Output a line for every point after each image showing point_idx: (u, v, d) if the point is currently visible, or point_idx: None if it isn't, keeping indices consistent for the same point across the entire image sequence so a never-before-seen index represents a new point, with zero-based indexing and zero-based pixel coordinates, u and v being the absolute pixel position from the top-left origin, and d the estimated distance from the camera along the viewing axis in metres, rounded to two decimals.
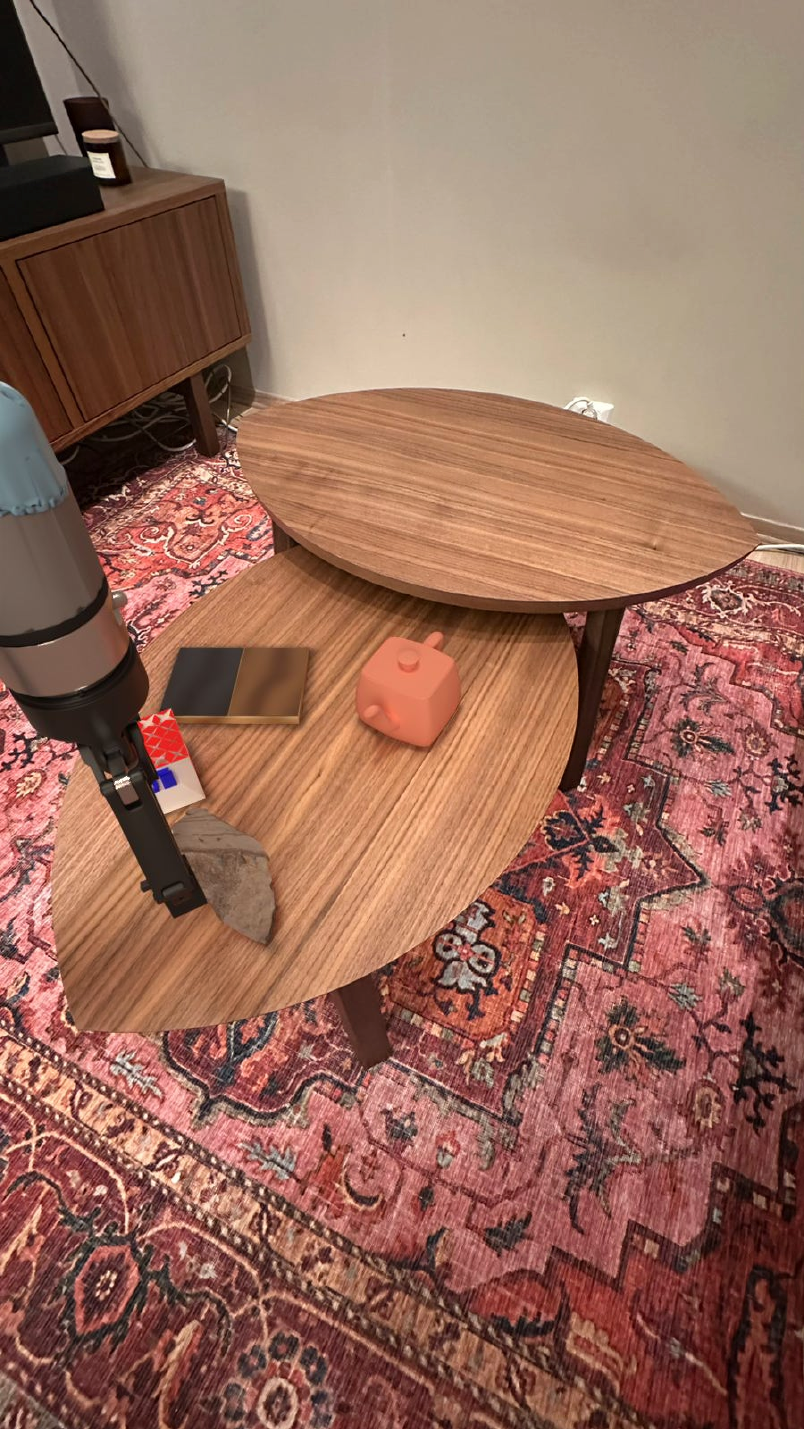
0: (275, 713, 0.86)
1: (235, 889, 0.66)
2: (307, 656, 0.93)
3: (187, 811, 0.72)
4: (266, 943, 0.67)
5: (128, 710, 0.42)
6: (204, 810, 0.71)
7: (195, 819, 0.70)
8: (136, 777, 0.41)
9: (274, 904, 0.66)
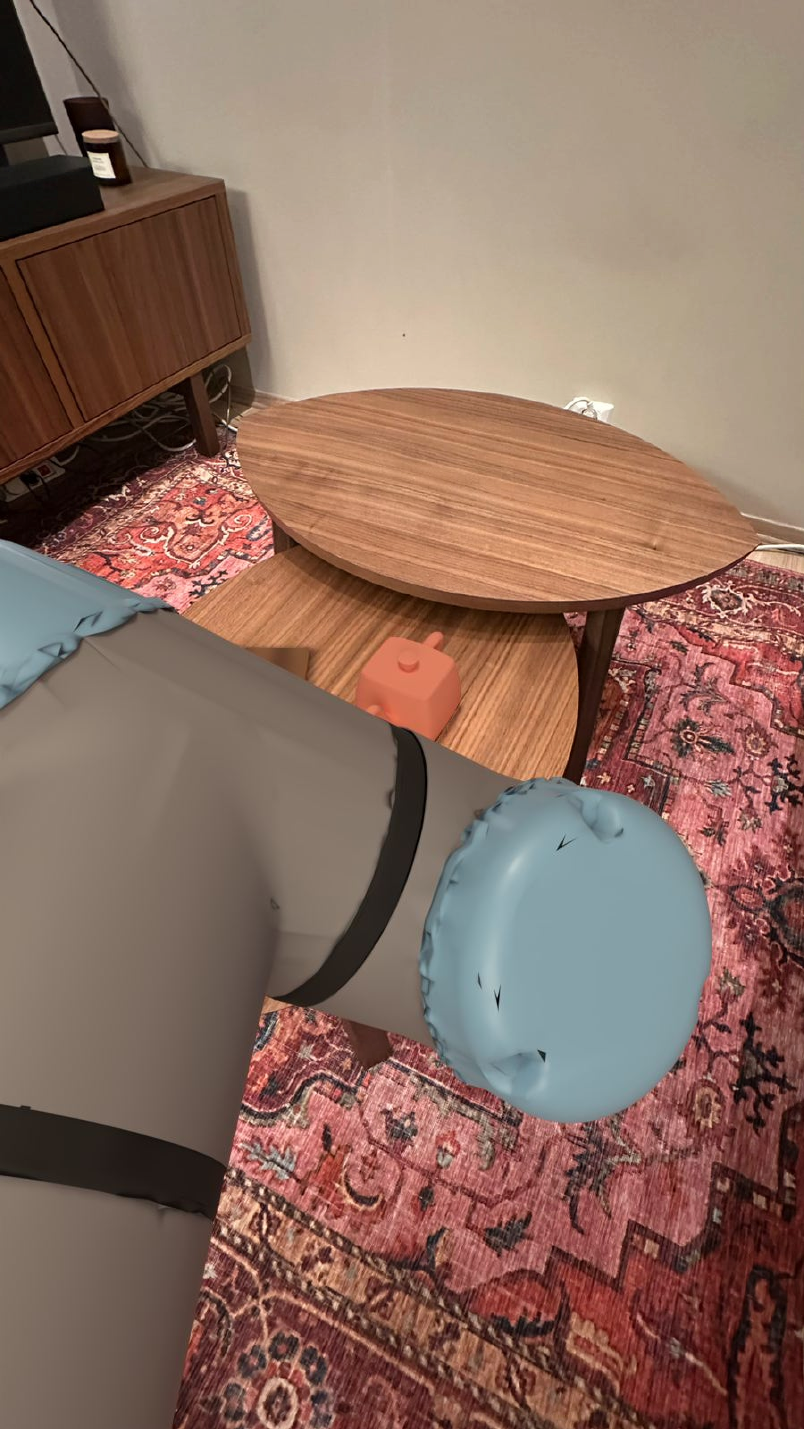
0: None
1: None
2: (307, 656, 0.93)
3: None
4: None
5: None
6: None
7: None
8: None
9: None
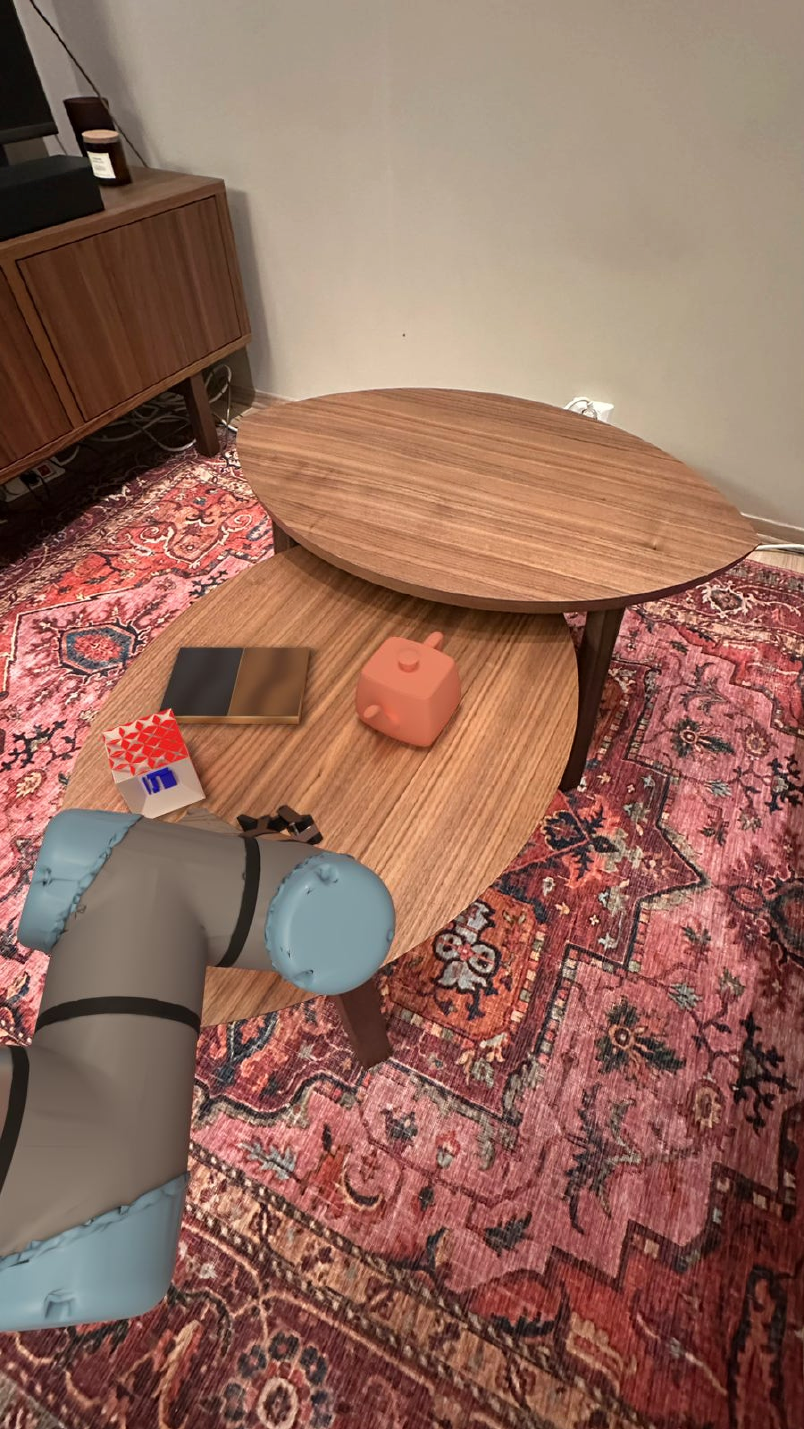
0: (275, 713, 0.86)
1: None
2: (307, 656, 0.93)
3: (188, 810, 0.72)
4: None
5: None
6: (205, 809, 0.71)
7: (196, 818, 0.70)
8: None
9: None
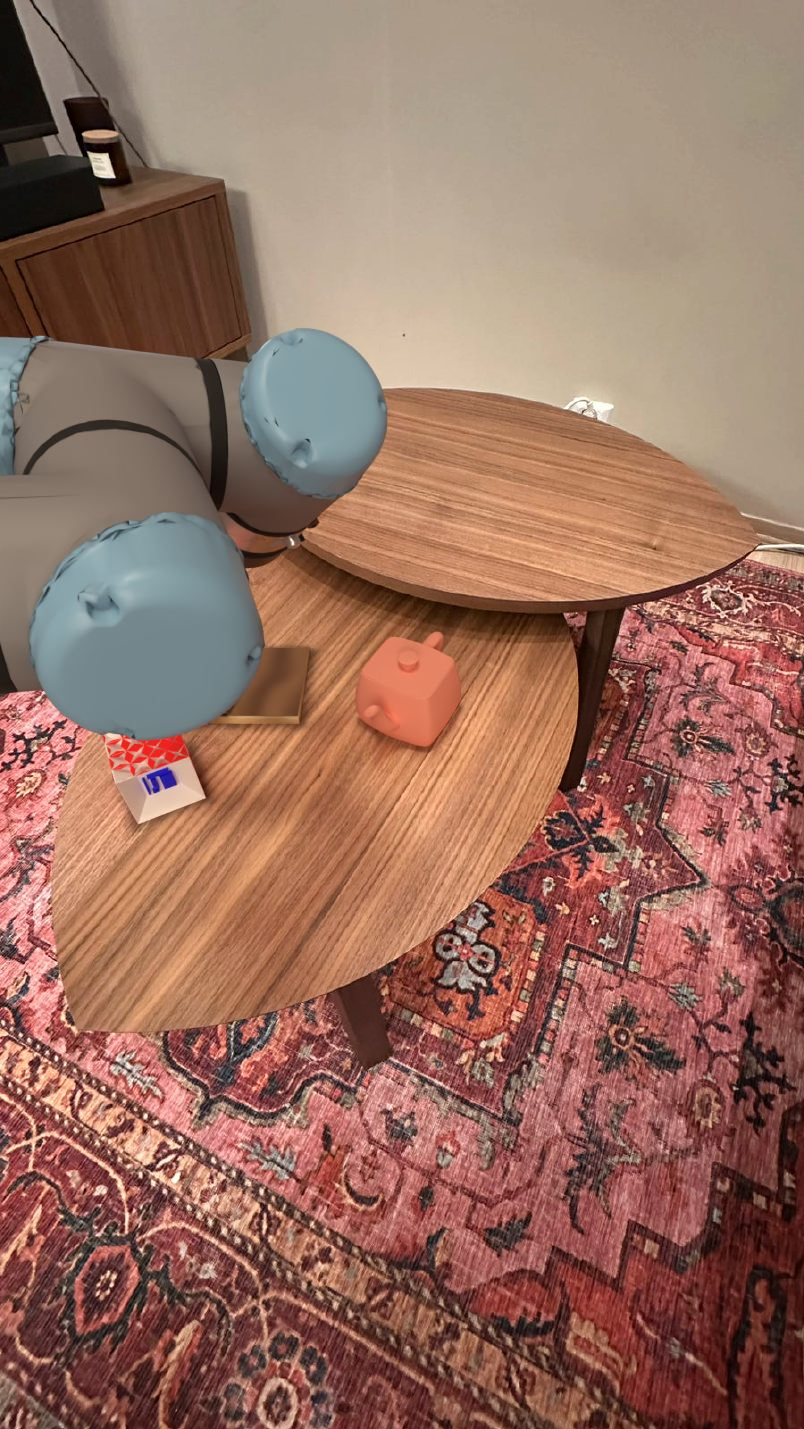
0: (275, 713, 0.86)
1: None
2: (307, 656, 0.93)
3: None
4: (225, 712, 0.86)
5: None
6: None
7: None
8: None
9: None
